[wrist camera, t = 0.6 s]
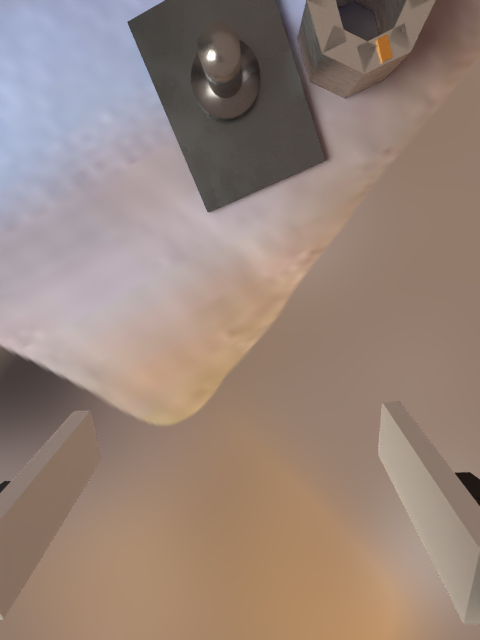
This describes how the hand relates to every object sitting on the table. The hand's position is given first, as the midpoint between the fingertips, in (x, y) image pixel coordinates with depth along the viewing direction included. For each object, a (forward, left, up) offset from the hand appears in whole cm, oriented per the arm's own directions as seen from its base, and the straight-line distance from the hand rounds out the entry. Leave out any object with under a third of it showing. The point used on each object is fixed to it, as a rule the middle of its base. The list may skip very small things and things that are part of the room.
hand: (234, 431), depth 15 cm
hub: (-19, +18, -25) cm, 37 cm away
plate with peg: (-20, +6, -25) cm, 33 cm away
